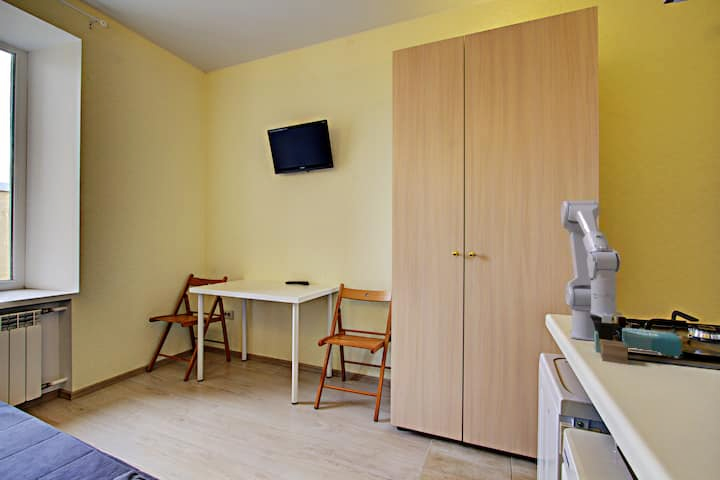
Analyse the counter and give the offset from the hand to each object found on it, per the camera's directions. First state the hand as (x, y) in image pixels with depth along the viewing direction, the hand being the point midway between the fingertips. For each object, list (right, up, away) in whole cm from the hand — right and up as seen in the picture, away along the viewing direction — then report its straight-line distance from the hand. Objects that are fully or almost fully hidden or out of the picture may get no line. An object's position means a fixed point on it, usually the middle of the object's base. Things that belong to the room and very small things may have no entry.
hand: (604, 344), depth 96 cm
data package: (+10, +1, -5) cm, 11 cm away
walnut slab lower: (-3, -2, -7) cm, 8 cm away
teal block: (0, -2, 0) cm, 2 cm away
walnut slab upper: (-3, 0, -7) cm, 8 cm away
